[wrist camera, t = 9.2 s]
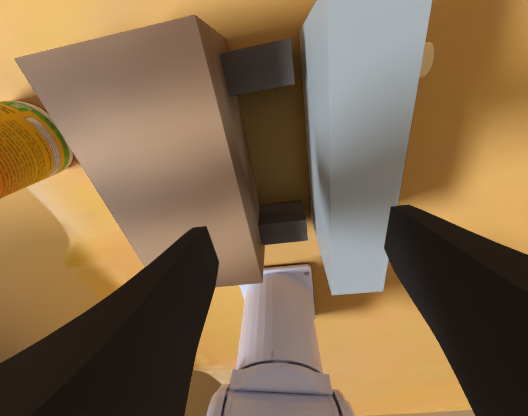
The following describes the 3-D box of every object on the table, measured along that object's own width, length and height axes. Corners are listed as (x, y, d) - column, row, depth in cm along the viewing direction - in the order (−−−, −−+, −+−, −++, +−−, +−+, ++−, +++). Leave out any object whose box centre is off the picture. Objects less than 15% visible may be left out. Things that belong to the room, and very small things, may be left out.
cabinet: (366, 221, 20) (398, 271, 15) (187, 241, 22) (160, 291, 17) (385, 2, 12) (466, -51, 7) (107, 64, 14) (13, 58, 9)
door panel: (358, 215, 20) (404, 289, 13) (311, 221, 20) (331, 295, 13) (371, 15, 13) (488, -58, 6) (298, 31, 13) (327, -18, 6)
